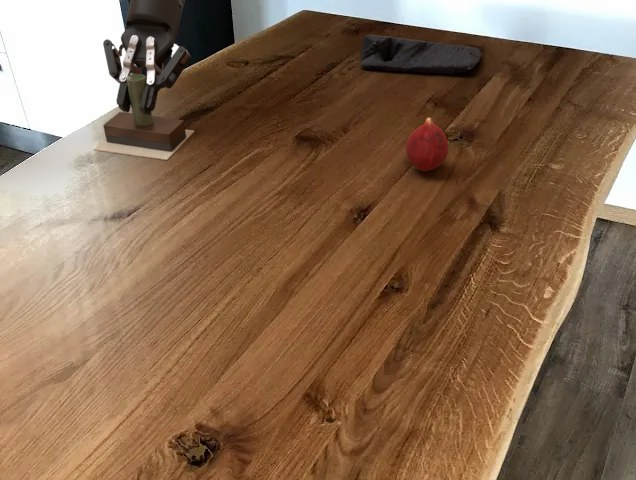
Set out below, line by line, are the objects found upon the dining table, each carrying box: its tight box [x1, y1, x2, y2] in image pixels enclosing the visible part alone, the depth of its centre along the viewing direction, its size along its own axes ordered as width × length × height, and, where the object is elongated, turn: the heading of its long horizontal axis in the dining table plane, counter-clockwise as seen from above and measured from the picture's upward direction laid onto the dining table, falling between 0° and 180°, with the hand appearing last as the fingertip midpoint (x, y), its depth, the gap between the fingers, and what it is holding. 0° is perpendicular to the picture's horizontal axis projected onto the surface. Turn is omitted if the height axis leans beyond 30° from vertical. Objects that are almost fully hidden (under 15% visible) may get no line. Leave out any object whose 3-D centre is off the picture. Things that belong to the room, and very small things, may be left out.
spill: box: [93, 128, 195, 161], centre depth 112 cm, size 12×10×1 cm
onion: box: [405, 117, 449, 173], centre depth 102 cm, size 6×6×8 cm
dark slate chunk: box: [359, 34, 482, 75], centre depth 136 cm, size 15×22×5 cm
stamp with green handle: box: [103, 73, 186, 152], centre depth 109 cm, size 11×5×10 cm, turn 72°
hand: (134, 110), depth 107 cm, fingers closed on stamp with green handle, 3 cm apart
